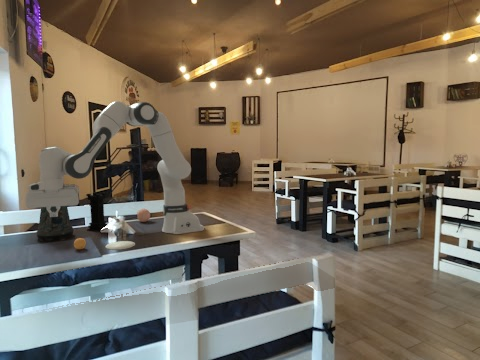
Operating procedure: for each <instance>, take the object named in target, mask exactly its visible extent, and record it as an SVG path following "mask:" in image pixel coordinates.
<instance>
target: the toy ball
mask: <svg viewBox="0 0 480 360" xmlns="http://www.w3.org/2000/svg"><path fill="white" fill-rule="evenodd" d="M136 215H137V220H138V222H142V223H146V222H148V221H149V220H150V218H151V212H150V211H149V210H148V209H146V208H141V209H139V210H138V211H137V214H136Z"/></svg>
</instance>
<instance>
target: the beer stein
mask: <svg viewBox="0 0 480 360" xmlns="http://www.w3.org/2000/svg"><path fill="white" fill-rule="evenodd" d="M50 210H51V211H52V212H56V211H57V209H56V206H53V207H51V209H50ZM73 235H74V227H73V225H72V223H71V219H70V214H69V209H68V206H60V210H59V211H58V217H50V213H49V212H48V211H47V209H46V207H40V213H39V222H38V227H37V231H36V237H37V240H38V241H40V242H45V243H46V242H50V243H51V242H57V241H64V240H68V239H70V238H73Z"/></svg>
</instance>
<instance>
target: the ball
mask: <svg viewBox="0 0 480 360" xmlns="http://www.w3.org/2000/svg"><path fill="white" fill-rule="evenodd" d="M86 246H87V242H86V240H85V238H81V237H78V238H76V239H75V240H74V242H73V247H74V248H75V249H76V250H83V249H84V248H85V247H86Z"/></svg>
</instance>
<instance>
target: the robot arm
mask: <svg viewBox="0 0 480 360" xmlns="http://www.w3.org/2000/svg"><path fill="white" fill-rule="evenodd" d="M126 124H127V125H129V126H131V127H143V126H146V128H147V130H148V131H149V134H150V136H151V140H152V142H153V145H154V148H155V150H156V153H158V154H159V156H160V157H161V160H160V161H159V162H158V163H157V171H158V173H159V177H160V181H161V185H162V188H163V203H164V204H163V207H162V208H163V209H162V211H163V215H164V216H163V224H162V228H161V231H162V232H163V233H166V234H173V235H181V234H189V233H196V232H202V231H205V226H204V225H202V224H201V222H200V219H199V217H198V216H197V215H196V214H194V213H193V212H191V211H190V209H191V205H189V204H187V203H186V191H185V188H184V186H183V183H182V180H183V179H186V178H189V176H190V174H191V173H192V167H191V164H190V163H189V161H187V159H186V158H185V155H184V154H183V153H182V151H181V149H180V148H179V145H178V144H177V141H176V138H175V135H174V133H173V129H172V126H171V124H170V121H169V120H168V117H167V116H166V114H165V113H163V112H161V111H158V110H156V108H155V106H153V104H151V103H150V102H147V101H140V102H135V103H133V104H131V105H127V104H125V102H122V101H120V100H115V101H113V102H111V103H110V104H108V106H106V107H105V108H104V109H103V110H102V111H101V112H100V113H99V115H98V116H97V117H96V118H95V120H94V121H93V123H92V125H91V126H92V127H91V128H92V137H91V138H90V140H89V141H88V142H87V144H85V146H84V148H82V149H81V151H80V152H78V153H76V154H74V153H71V152H69V151H66V150H64V149H63V148H61V147H59V146H52V147H51V146H50V147H45V148H43V149H42V150H40V152H39V156H38V167H39V172H40V174H39V175H40V177H39V181H36V182H35V183H31V184H29V185H28V186H27V190H28V191H27V193H26V194H25V206H26V208H29V209H34V208H41V207H46V209H47V211H48V212H49V213H50V217H58V211H59V210H60V206H67V207H68V206H69V207H71V206H73V207H74V206H78V204H79V203H80V198H79V193H80V188H79V186H78V185H77V184H74V183H73V184H69V183H68V184H67V183H66V184H65V183H64V176H70V177H71V178H73V179H84V178H86V177H88V176H89V175H90V174H91V171H92V169H93V166H94V163H95V161H96V159H97V157H98V156H99V155H100V153H102V151H103V149H104V148H105V147H106V145H107V144H108V143H109V142H110V141H111V140H112V139H113V137H115V136H116V135H117V133H118V132H119V131H120V130H121V129H122V128H123V126H124V125H126ZM53 206H56V209H57V211H56V212H52V211H51V210H50V209H51V207H53Z"/></svg>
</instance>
